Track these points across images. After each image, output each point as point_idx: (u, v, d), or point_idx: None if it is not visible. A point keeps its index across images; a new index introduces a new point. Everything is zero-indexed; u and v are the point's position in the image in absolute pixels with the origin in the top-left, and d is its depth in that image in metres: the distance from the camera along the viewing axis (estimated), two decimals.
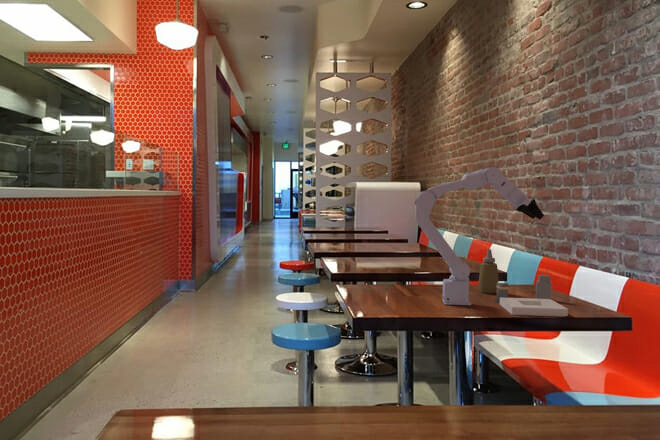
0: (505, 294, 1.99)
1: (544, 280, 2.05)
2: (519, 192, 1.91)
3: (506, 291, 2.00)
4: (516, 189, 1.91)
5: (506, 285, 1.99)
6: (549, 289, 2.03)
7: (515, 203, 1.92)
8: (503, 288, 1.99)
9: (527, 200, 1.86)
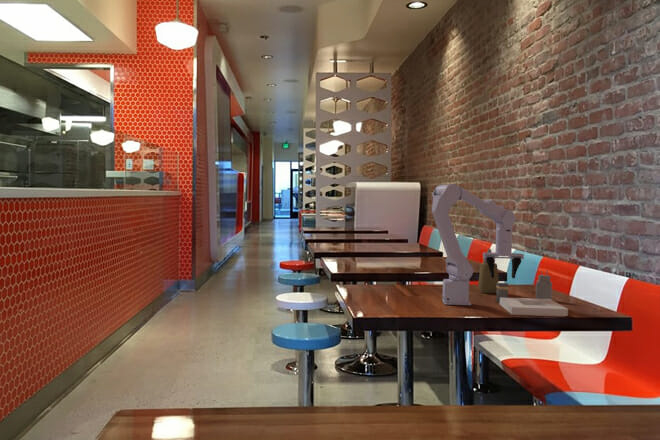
0: (505, 294, 1.99)
1: (544, 280, 2.05)
2: None
3: (506, 291, 2.00)
4: None
5: (506, 285, 1.99)
6: (549, 289, 2.03)
7: (510, 252, 1.98)
8: (503, 288, 1.99)
9: None
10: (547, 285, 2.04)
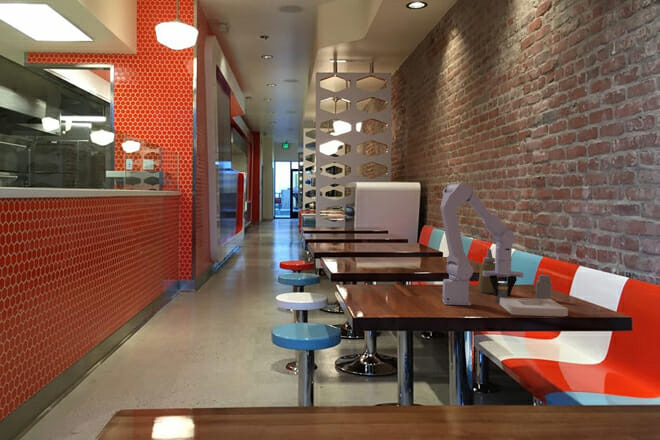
0: (505, 294, 1.99)
1: (544, 280, 2.05)
2: None
3: (506, 291, 2.00)
4: None
5: (506, 285, 1.99)
6: (549, 289, 2.03)
7: (509, 270, 1.99)
8: (503, 288, 1.99)
9: None
10: (547, 285, 2.04)
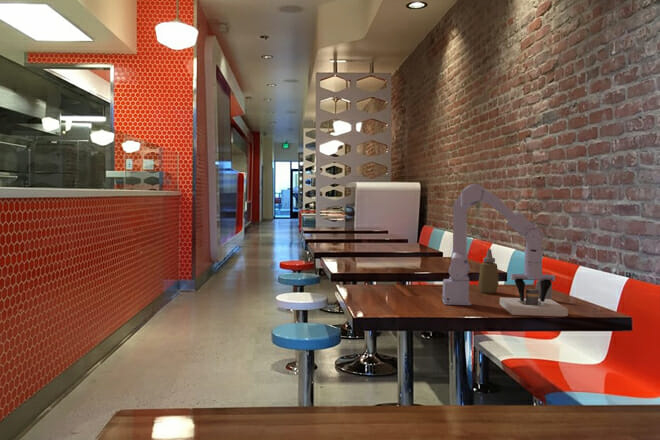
0: (535, 302, 1.85)
1: None
2: None
3: (536, 298, 1.85)
4: None
5: (536, 292, 1.85)
6: (549, 289, 2.03)
7: (540, 273, 1.84)
8: (533, 295, 1.85)
9: None
10: None
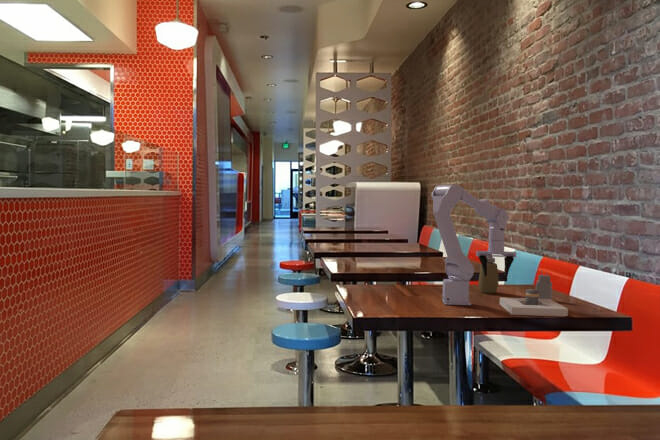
0: (535, 302, 1.85)
1: (544, 280, 2.05)
2: None
3: (536, 298, 1.85)
4: None
5: (536, 292, 1.85)
6: (549, 289, 2.03)
7: (502, 250, 2.02)
8: (533, 295, 1.85)
9: None
10: (547, 285, 2.04)
